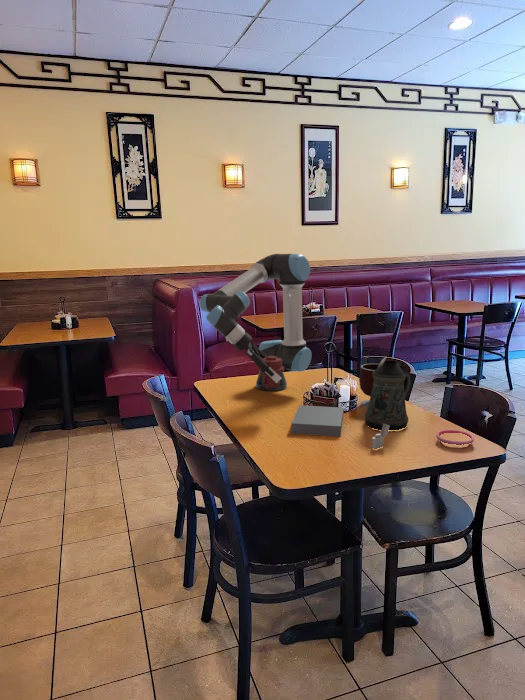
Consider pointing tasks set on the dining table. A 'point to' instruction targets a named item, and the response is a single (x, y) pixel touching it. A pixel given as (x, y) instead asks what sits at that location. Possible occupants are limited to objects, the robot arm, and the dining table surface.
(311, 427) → the plate
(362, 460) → the dining table surface
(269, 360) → the mechanical component
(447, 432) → the pink torus ring
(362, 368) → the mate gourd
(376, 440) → the lighter
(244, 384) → the dining table surface
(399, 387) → the beer stein
